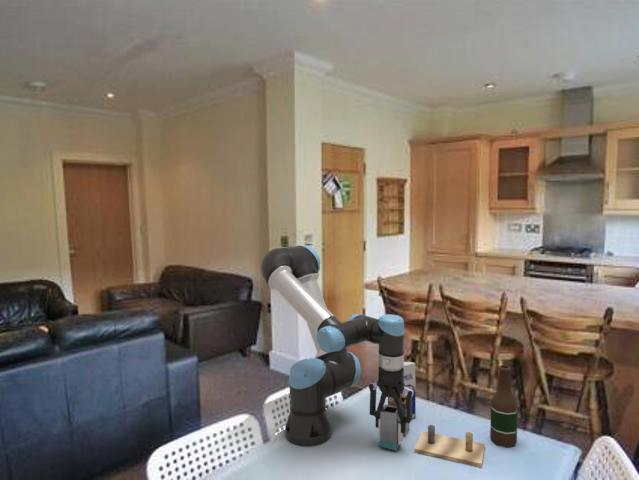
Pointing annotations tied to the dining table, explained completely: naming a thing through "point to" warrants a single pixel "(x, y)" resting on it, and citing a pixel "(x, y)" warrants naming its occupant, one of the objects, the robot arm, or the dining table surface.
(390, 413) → the grey rectangular box
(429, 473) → the dining table surface
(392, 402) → the sleeve rust
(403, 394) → the milk carton
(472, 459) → the pin board
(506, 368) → the beer bottle
